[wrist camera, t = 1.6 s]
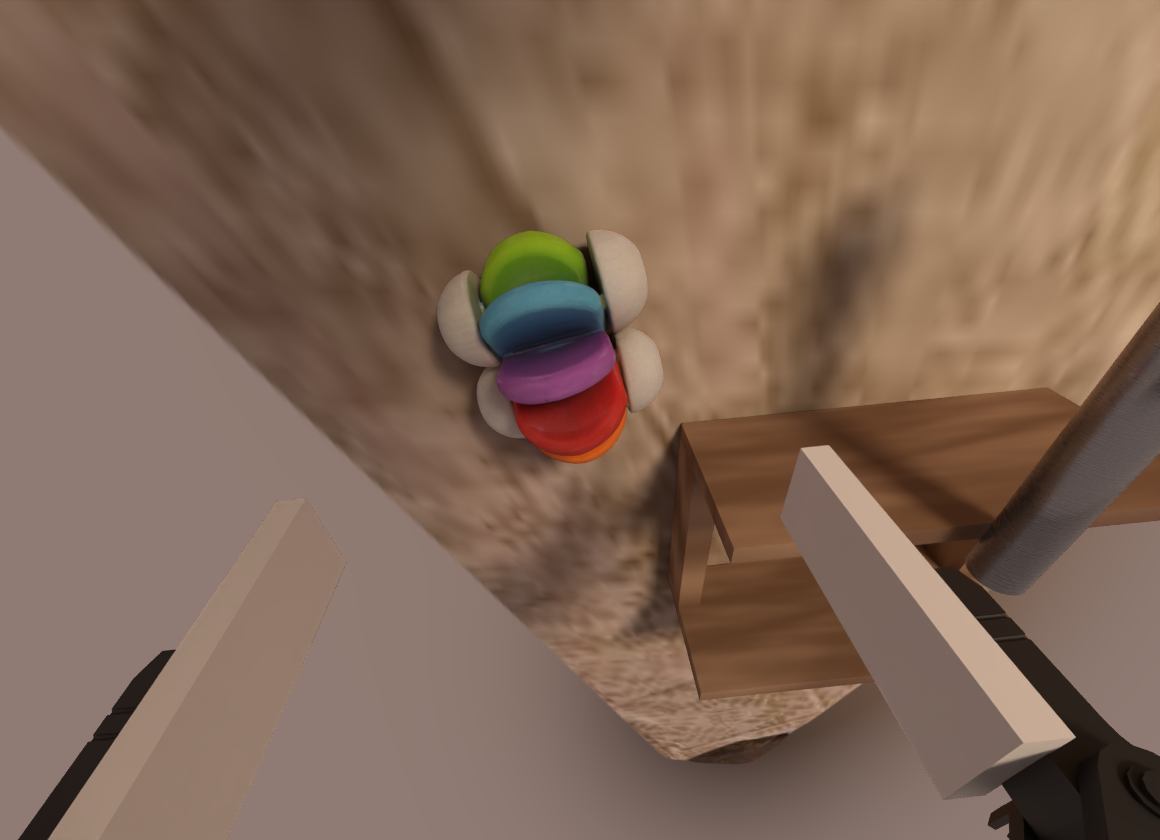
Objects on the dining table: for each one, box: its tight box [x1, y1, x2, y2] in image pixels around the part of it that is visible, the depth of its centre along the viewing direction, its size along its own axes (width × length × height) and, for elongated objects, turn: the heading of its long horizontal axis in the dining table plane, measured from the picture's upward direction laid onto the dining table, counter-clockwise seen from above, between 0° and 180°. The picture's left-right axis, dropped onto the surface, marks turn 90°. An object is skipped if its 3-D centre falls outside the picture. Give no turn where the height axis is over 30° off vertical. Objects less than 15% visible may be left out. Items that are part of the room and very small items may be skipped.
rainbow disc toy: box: [437, 229, 663, 464], centre depth 18 cm, size 8×10×7 cm
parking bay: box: [668, 388, 1160, 700], centre depth 26 cm, size 15×21×8 cm
